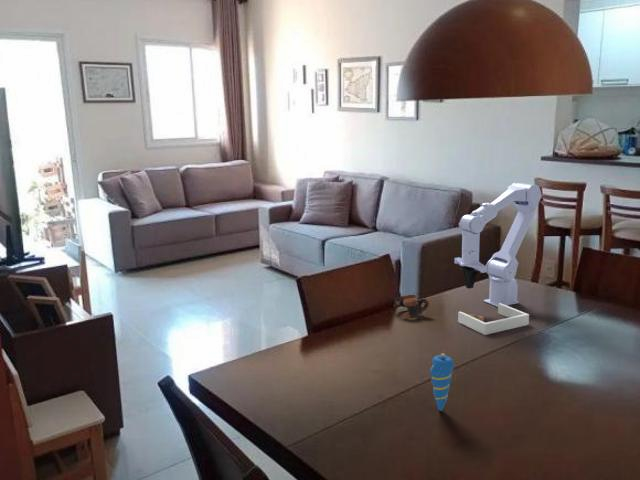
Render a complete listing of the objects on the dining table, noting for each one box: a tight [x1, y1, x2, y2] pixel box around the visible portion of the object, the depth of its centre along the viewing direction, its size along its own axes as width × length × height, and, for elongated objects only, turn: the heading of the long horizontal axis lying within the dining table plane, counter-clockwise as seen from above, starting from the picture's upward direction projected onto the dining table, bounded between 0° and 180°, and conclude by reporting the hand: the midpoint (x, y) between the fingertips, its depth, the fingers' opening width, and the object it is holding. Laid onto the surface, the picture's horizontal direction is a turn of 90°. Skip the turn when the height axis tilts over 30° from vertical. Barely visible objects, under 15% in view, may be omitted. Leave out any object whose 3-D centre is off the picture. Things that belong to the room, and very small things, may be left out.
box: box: [457, 303, 530, 336], centre depth 186 cm, size 18×13×4 cm
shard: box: [466, 313, 485, 322], centre depth 187 cm, size 11×8×2 cm
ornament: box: [429, 350, 455, 412], centre depth 131 cm, size 5×5×15 cm
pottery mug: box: [393, 294, 430, 320], centre depth 196 cm, size 12×10×8 cm
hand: (469, 287), depth 198 cm, fingers closed
